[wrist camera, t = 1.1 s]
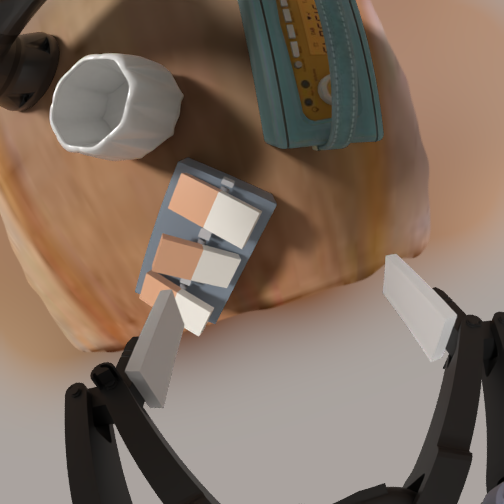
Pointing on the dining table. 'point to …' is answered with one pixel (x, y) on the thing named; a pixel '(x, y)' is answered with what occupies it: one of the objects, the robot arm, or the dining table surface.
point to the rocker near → (214, 209)
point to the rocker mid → (195, 261)
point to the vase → (115, 106)
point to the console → (190, 231)
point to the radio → (312, 73)
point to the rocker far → (178, 301)
